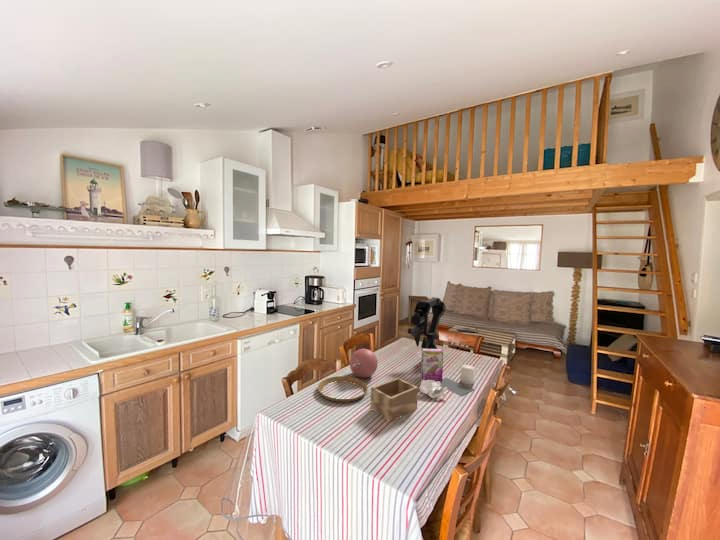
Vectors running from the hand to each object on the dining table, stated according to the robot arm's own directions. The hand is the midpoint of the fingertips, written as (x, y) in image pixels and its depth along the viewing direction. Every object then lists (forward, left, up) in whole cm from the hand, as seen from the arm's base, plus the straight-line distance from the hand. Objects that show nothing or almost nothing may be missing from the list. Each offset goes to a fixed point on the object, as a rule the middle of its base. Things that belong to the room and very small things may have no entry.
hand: (421, 347), depth 179 cm
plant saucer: (-3, -56, -13) cm, 58 cm away
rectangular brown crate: (+23, -47, -12) cm, 54 cm away
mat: (+26, -8, -12) cm, 30 cm away
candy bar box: (+14, -8, -12) cm, 20 cm away
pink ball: (-10, -38, -13) cm, 42 cm away
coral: (+24, -29, -11) cm, 39 cm away
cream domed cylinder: (+27, +6, -13) cm, 30 cm away
